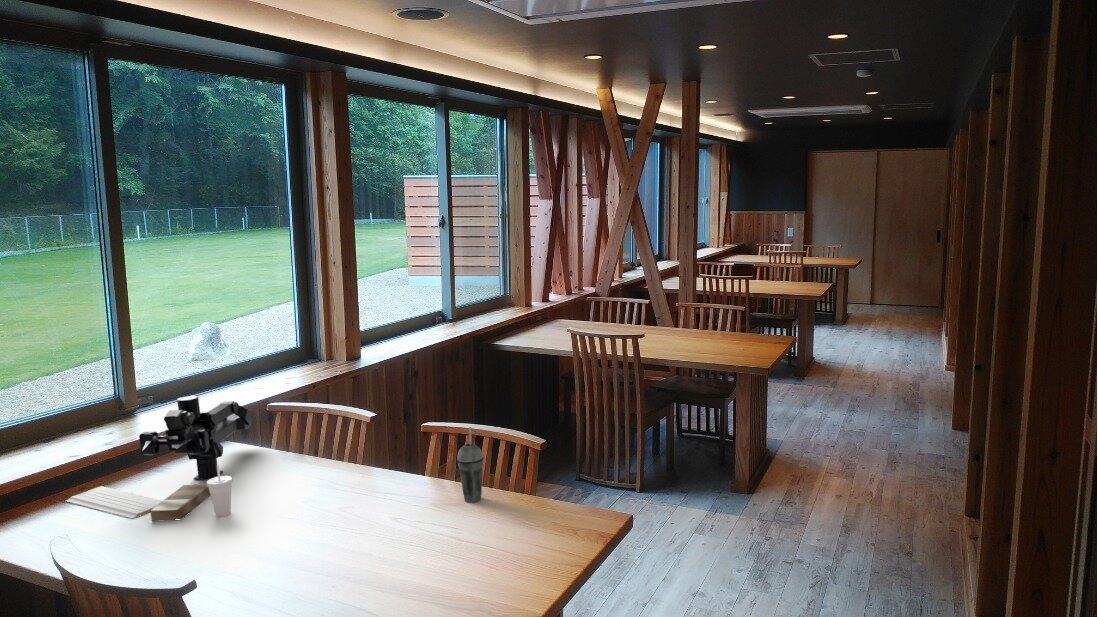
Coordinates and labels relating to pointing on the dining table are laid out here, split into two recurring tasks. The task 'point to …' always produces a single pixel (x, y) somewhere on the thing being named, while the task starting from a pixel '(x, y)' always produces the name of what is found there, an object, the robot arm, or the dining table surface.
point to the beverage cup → (471, 471)
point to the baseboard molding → (115, 501)
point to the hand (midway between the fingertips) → (159, 451)
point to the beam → (180, 502)
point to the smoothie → (220, 493)
